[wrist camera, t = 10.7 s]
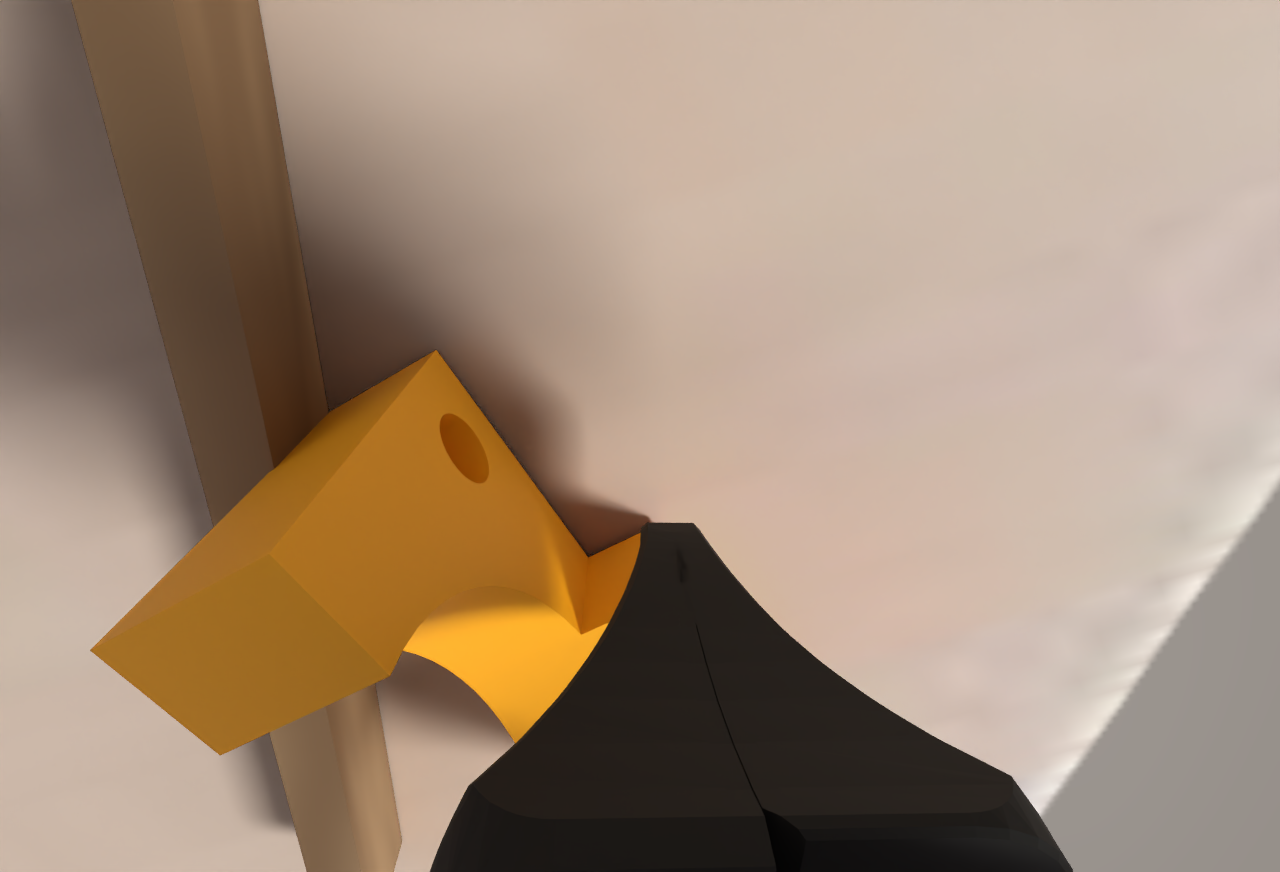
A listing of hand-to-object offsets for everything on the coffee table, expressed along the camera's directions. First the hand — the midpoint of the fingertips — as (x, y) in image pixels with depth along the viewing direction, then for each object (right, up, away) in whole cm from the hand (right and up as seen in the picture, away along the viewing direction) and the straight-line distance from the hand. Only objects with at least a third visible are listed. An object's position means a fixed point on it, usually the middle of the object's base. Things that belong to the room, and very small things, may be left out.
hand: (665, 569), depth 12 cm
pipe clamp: (-2, -1, +3) cm, 4 cm away
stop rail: (-7, +1, +2) cm, 8 cm away
